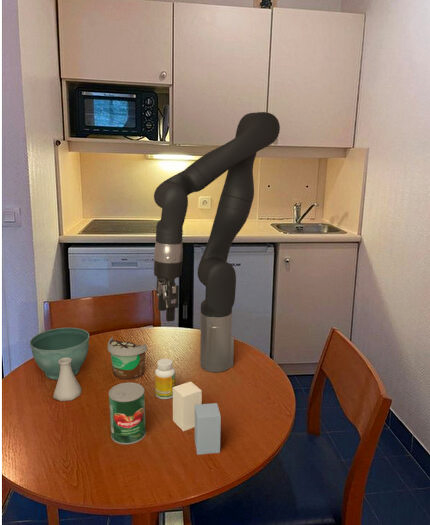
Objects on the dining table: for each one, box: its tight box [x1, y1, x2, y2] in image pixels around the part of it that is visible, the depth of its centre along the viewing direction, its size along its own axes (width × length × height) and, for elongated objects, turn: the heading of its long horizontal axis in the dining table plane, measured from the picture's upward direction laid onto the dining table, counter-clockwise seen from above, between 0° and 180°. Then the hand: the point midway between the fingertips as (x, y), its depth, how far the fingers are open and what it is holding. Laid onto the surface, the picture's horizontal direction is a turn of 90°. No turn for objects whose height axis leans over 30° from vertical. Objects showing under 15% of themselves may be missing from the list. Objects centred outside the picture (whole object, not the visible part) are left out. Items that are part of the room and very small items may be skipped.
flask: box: [52, 358, 82, 402], centre depth 118 cm, size 7×7×10 cm
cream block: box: [172, 381, 203, 432], centre depth 106 cm, size 5×5×9 cm
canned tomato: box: [108, 382, 147, 446], centre depth 101 cm, size 8×8×11 cm
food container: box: [106, 336, 148, 381], centre depth 127 cm, size 12×6×10 cm, turn 68°
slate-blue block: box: [194, 402, 222, 455], centre depth 98 cm, size 5×5×9 cm
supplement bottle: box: [154, 358, 176, 400], centre depth 118 cm, size 5×5×10 cm
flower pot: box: [29, 327, 90, 381], centre depth 129 cm, size 16×16×11 cm
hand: (166, 315), depth 124 cm, fingers open, 8 cm apart
